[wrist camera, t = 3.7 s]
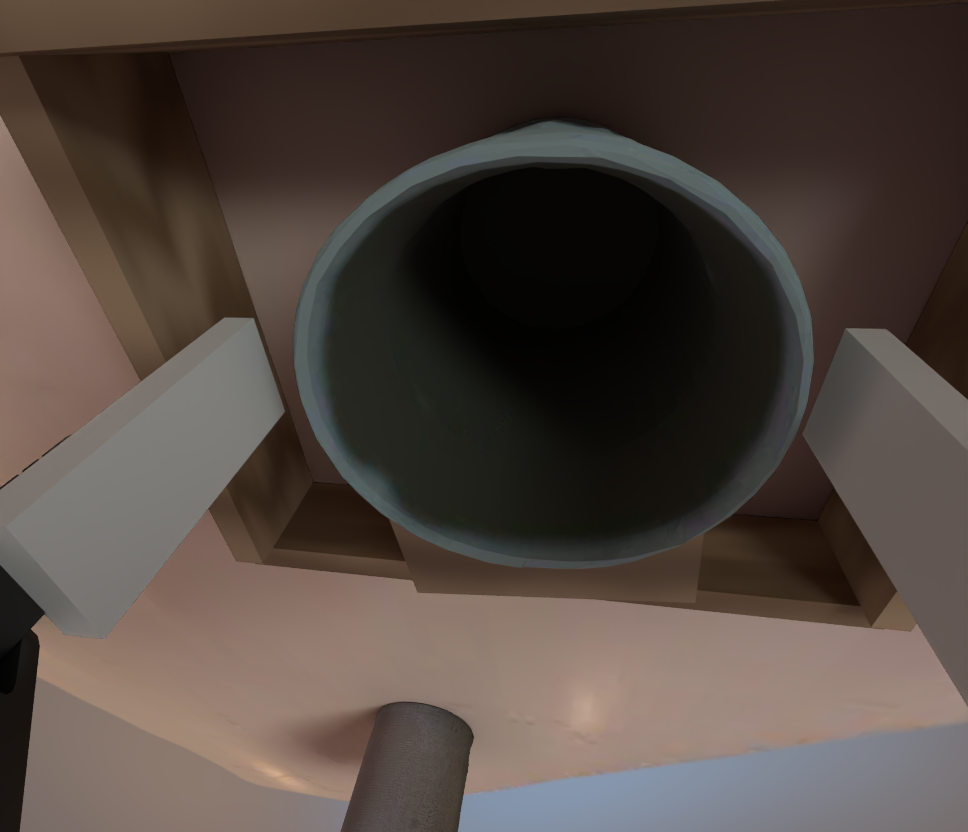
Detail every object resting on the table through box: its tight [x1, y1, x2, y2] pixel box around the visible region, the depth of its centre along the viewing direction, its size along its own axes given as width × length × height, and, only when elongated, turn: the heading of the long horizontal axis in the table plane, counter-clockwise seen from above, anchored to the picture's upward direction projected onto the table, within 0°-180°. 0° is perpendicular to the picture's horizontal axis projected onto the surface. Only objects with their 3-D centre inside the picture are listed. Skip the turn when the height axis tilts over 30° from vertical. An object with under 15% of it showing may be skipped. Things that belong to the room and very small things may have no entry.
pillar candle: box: [341, 702, 474, 832], centre depth 43 cm, size 10×10×15 cm
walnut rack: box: [0, 0, 968, 632], centre depth 19 cm, size 24×31×8 cm
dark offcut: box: [389, 519, 704, 603], centre depth 21 cm, size 6×12×2 cm, turn 100°
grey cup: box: [293, 117, 814, 569], centre depth 15 cm, size 10×10×12 cm
